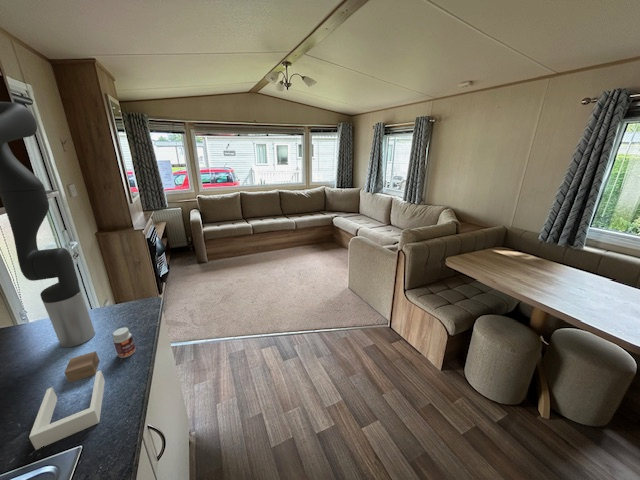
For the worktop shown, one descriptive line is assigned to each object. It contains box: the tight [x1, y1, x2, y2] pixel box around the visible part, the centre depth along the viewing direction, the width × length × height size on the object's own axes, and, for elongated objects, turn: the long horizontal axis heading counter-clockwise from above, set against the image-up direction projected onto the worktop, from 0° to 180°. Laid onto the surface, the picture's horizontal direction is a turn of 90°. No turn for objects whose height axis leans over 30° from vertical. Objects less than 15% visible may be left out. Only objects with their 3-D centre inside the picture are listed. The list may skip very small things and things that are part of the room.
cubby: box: [29, 369, 106, 451], centre depth 66 cm, size 14×11×4 cm
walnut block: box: [64, 350, 100, 383], centre depth 78 cm, size 6×6×4 cm
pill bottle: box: [112, 327, 136, 359], centre depth 84 cm, size 5×5×8 cm
